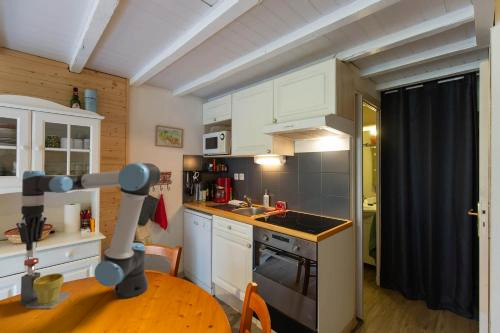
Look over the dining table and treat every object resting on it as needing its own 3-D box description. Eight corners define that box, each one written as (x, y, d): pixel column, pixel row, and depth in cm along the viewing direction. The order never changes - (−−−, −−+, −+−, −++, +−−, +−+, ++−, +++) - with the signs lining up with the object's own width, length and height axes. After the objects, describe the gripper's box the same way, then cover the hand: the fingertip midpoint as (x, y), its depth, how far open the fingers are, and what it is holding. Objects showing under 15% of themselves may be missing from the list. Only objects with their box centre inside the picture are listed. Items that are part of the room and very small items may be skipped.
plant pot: (45, 308, 101) (46, 285, 101) (26, 304, 103) (27, 282, 103) (68, 295, 111) (69, 274, 111) (50, 292, 113) (51, 272, 113)
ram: (40, 285, 110) (41, 258, 110) (31, 290, 105) (32, 262, 105) (30, 285, 110) (30, 257, 110) (20, 290, 105) (21, 261, 105)
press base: (70, 295, 113) (71, 269, 113) (51, 308, 102) (52, 280, 102) (35, 294, 113) (36, 269, 113) (12, 308, 102) (13, 280, 102)
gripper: (37, 202, 114) (35, 251, 114) (10, 206, 101) (8, 262, 101) (53, 202, 114) (51, 251, 114) (28, 207, 101) (26, 262, 101)
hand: (31, 256), depth 108 cm, fingers closed
